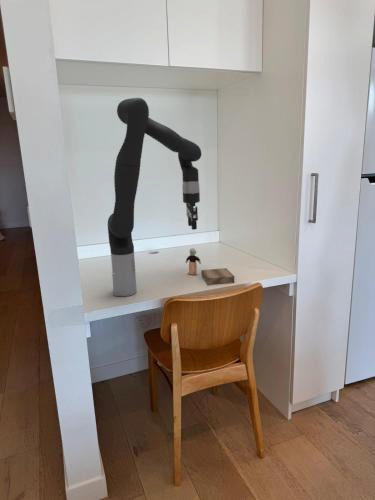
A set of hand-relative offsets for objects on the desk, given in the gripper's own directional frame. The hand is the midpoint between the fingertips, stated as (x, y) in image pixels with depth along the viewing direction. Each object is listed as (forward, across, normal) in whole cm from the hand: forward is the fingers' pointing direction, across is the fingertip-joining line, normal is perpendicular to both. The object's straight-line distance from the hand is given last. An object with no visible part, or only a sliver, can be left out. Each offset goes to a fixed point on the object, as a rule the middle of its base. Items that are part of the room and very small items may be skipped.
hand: (192, 227), depth 157 cm
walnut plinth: (+23, +9, +9) cm, 26 cm away
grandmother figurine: (+23, -1, 0) cm, 23 cm away
